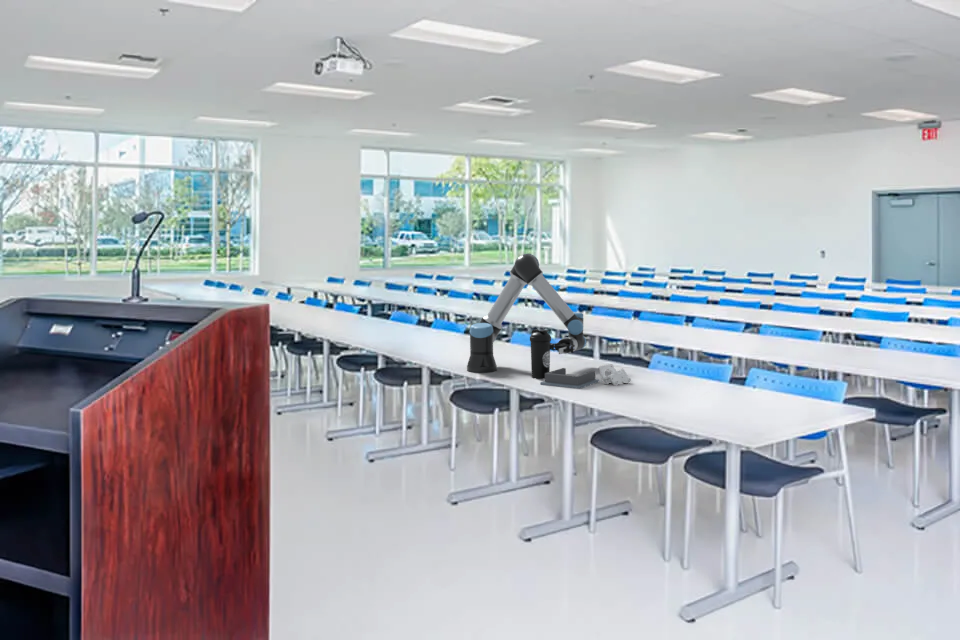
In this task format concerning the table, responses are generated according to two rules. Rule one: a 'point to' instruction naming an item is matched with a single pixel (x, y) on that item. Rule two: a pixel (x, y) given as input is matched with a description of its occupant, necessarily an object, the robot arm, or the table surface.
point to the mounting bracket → (613, 375)
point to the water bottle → (540, 353)
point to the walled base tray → (569, 379)
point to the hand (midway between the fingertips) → (546, 350)
